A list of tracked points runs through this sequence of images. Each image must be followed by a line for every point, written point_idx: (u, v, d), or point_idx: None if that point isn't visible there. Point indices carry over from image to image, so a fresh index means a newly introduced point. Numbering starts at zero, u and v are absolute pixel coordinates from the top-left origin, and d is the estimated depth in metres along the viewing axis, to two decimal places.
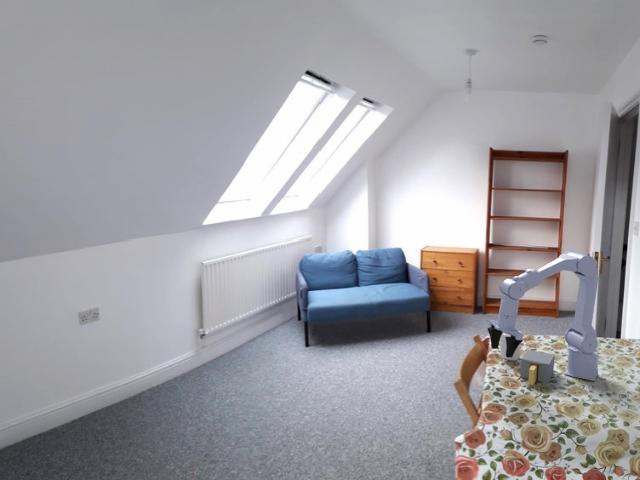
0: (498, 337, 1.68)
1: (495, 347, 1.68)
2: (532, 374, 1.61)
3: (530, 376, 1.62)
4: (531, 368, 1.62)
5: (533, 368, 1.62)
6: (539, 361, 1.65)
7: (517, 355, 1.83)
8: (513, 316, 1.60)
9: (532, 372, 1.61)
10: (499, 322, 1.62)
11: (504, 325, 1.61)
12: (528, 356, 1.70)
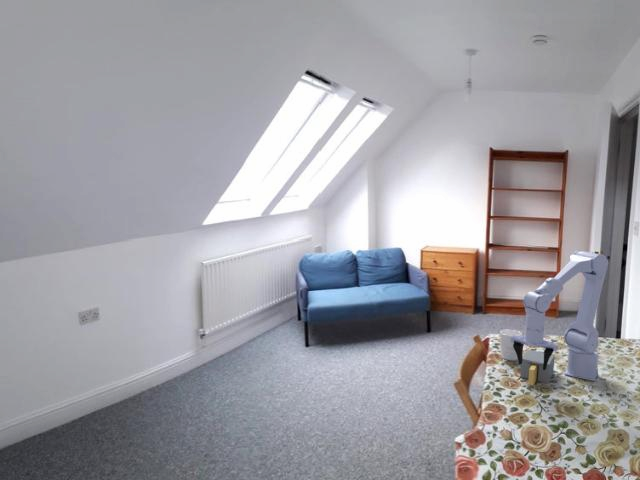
0: (522, 351, 1.64)
1: (521, 362, 1.64)
2: (532, 374, 1.61)
3: (530, 376, 1.62)
4: (531, 368, 1.62)
5: (533, 368, 1.62)
6: (539, 361, 1.65)
7: None
8: (542, 329, 1.57)
9: (532, 372, 1.61)
10: (532, 338, 1.58)
11: (538, 339, 1.58)
12: (528, 356, 1.70)
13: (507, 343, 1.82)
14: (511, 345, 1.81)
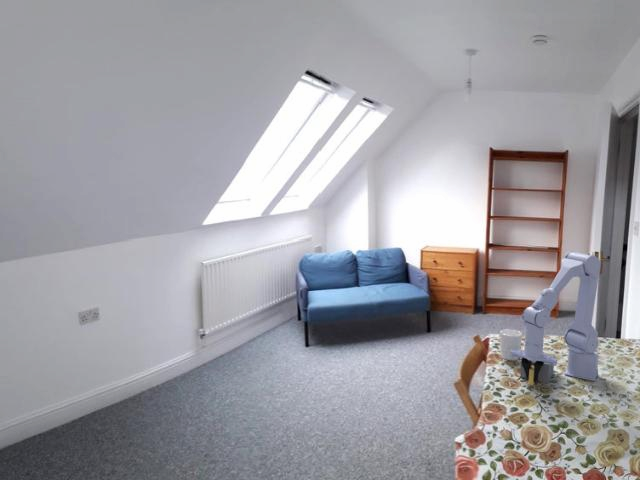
0: None
1: None
2: (532, 374, 1.61)
3: (530, 376, 1.62)
4: (531, 368, 1.62)
5: (533, 368, 1.62)
6: None
7: None
8: (541, 344, 1.58)
9: (532, 372, 1.61)
10: (531, 353, 1.59)
11: (537, 354, 1.58)
12: None
13: (507, 343, 1.82)
14: (511, 345, 1.81)
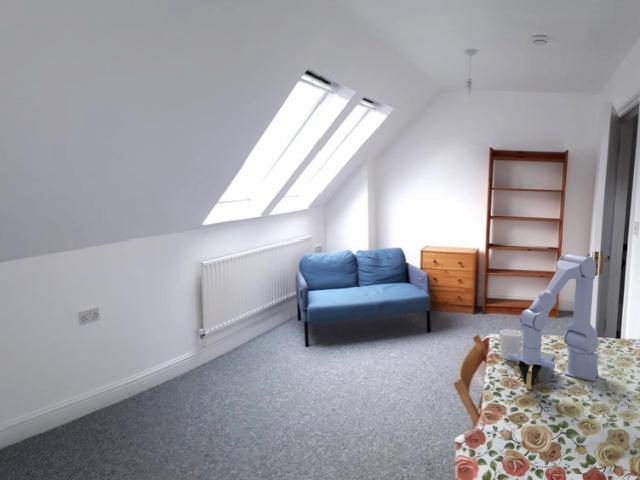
0: (527, 371, 1.61)
1: None
2: (530, 378, 1.58)
3: (528, 380, 1.59)
4: (529, 372, 1.59)
5: (531, 372, 1.59)
6: None
7: None
8: (539, 347, 1.55)
9: (530, 376, 1.58)
10: (528, 356, 1.56)
11: (535, 357, 1.56)
12: None
13: (507, 343, 1.82)
14: (511, 345, 1.81)
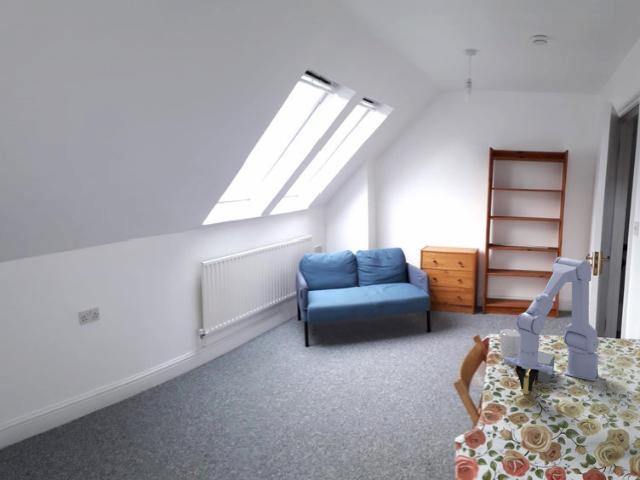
0: (524, 375, 1.57)
1: None
2: (527, 383, 1.55)
3: (525, 385, 1.55)
4: (526, 376, 1.56)
5: (528, 376, 1.56)
6: (539, 361, 1.65)
7: (517, 355, 1.83)
8: (537, 351, 1.52)
9: (527, 381, 1.55)
10: (525, 360, 1.53)
11: (532, 362, 1.52)
12: None
13: (507, 343, 1.82)
14: (511, 345, 1.81)
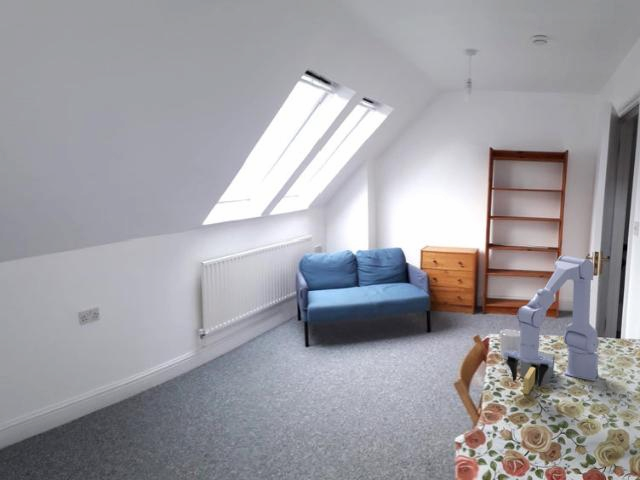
0: (516, 367, 1.58)
1: (516, 378, 1.58)
2: (527, 383, 1.55)
3: (525, 385, 1.55)
4: (526, 376, 1.56)
5: (528, 376, 1.56)
6: None
7: None
8: (537, 344, 1.52)
9: (527, 381, 1.55)
10: (526, 354, 1.52)
11: (533, 355, 1.52)
12: None
13: (507, 343, 1.82)
14: (511, 345, 1.81)
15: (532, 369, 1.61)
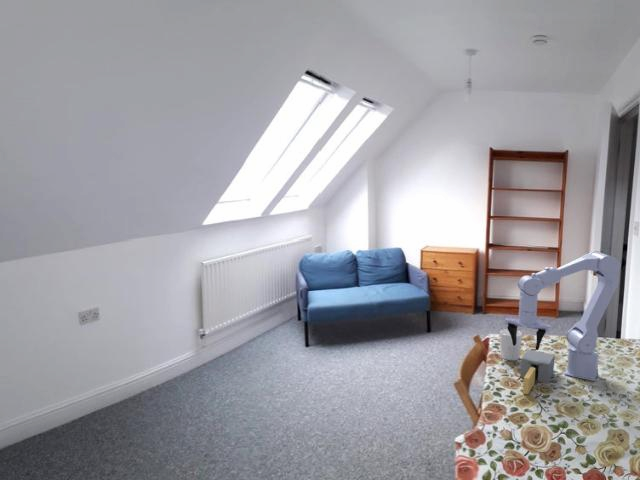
0: (516, 333, 1.72)
1: (515, 343, 1.72)
2: (527, 383, 1.55)
3: (525, 385, 1.55)
4: (526, 376, 1.56)
5: (528, 376, 1.56)
6: (539, 361, 1.65)
7: (517, 355, 1.83)
8: (532, 311, 1.65)
9: (527, 381, 1.55)
10: (525, 320, 1.66)
11: (531, 321, 1.66)
12: (528, 356, 1.70)
13: (507, 343, 1.82)
14: (511, 345, 1.81)
15: (532, 369, 1.61)
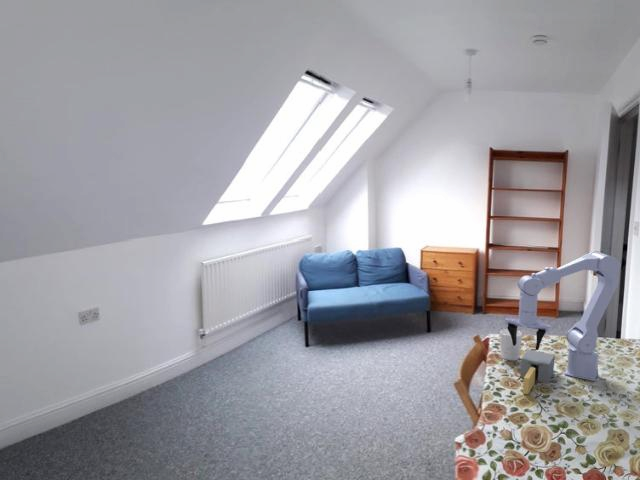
0: (516, 333, 1.72)
1: (515, 343, 1.72)
2: (527, 383, 1.55)
3: (525, 385, 1.55)
4: (526, 376, 1.56)
5: (528, 376, 1.56)
6: (539, 361, 1.65)
7: (517, 355, 1.83)
8: (532, 311, 1.65)
9: (527, 381, 1.55)
10: (525, 320, 1.66)
11: (531, 321, 1.66)
12: (528, 356, 1.70)
13: (507, 343, 1.82)
14: (511, 345, 1.81)
15: (532, 369, 1.61)
